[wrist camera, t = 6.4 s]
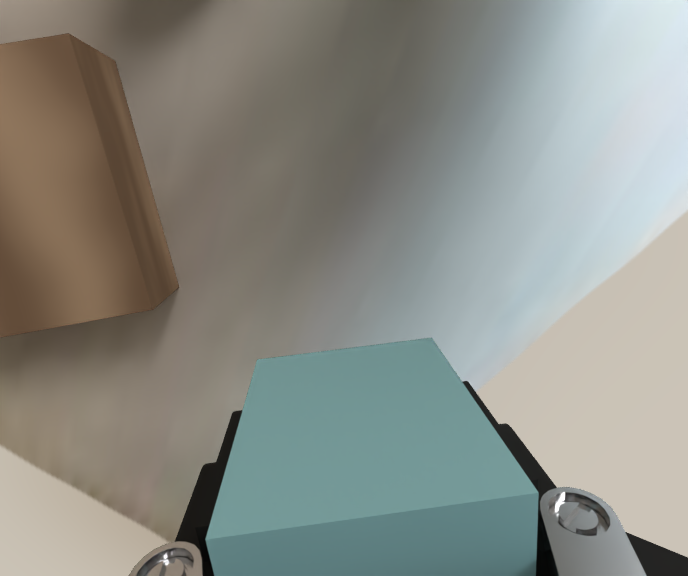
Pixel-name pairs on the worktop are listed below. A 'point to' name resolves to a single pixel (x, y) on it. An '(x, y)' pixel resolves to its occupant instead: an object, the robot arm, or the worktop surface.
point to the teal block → (370, 473)
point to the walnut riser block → (73, 192)
